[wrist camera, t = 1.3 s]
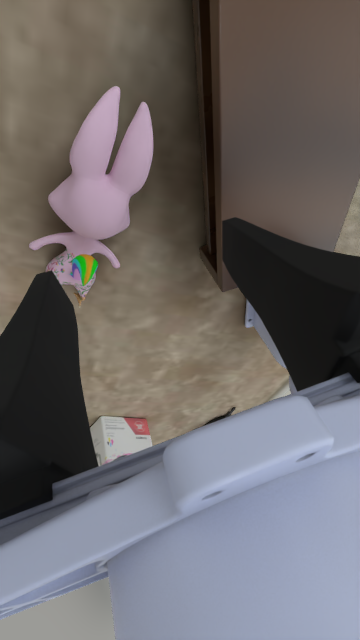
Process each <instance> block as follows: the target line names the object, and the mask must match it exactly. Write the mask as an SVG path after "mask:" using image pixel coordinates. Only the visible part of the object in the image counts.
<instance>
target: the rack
mask: <svg viewBox="0 0 360 640" xmlns="http://www.w3.org/2000/svg"><path fill="white" fill-rule="evenodd" d="M192 3H193V20H194V37H195V54H196V71H197V88H198V104H199V121H200V138H201V155H202V172H203V189H204V205H205V222H206V239H207V245H205V246H202V247H200V258H201V259H202V261H203V263H204V264H205V266H206V267H207V269H208V271H209V272H210V274H211V275H212V277H213V279H214V280H215V282H216V283H217V285H218V286H219V288H220V290H221V291H222V292H225V291H228V290H231V289H234V288H237V287H238V286H237V285H236V283H235V282H234V281H233V279H232V278H231V276H230V274H229V272H228V270H227V268H226V266H225V264H224V262H223V260H222V221H224V220H227V219H230V218H234V217H237V218H240V219H242V220H245V221H247V222H249V223H252V224H254V225H256V226H258V227H261V228H263V229H265V230H267V231H270V232H272V233H274V234H277V235H279V236H282V237H284V238H287V239H290V240H293V241H295V242H298V243H301V244H304V245H308V246H311V247H315V248H318V249H322V250H326V251H331V252H334V249H335V246H336V243H337V241H338V238H339V235H340V232H341V229H342V226H343V224H344V221H345V218H346V215H347V212H348V210H349V207H350V204H351V201H352V198H353V195H354V193H355V190H356V187H357V184H358V181H359V179H360V0H192Z"/></svg>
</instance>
